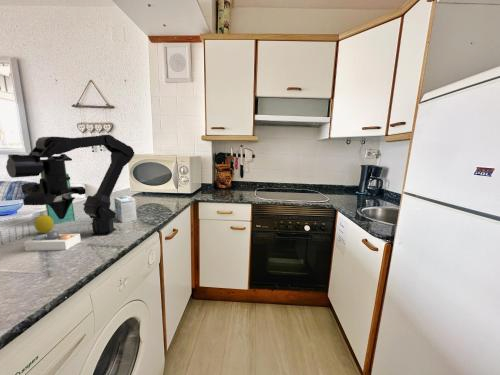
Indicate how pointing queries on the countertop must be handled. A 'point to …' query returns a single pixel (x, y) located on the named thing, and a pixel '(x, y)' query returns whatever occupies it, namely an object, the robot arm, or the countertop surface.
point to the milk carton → (69, 214)
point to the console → (52, 243)
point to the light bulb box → (125, 208)
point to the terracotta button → (65, 236)
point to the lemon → (44, 224)
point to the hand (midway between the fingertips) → (61, 218)
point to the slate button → (41, 237)
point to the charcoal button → (52, 235)
